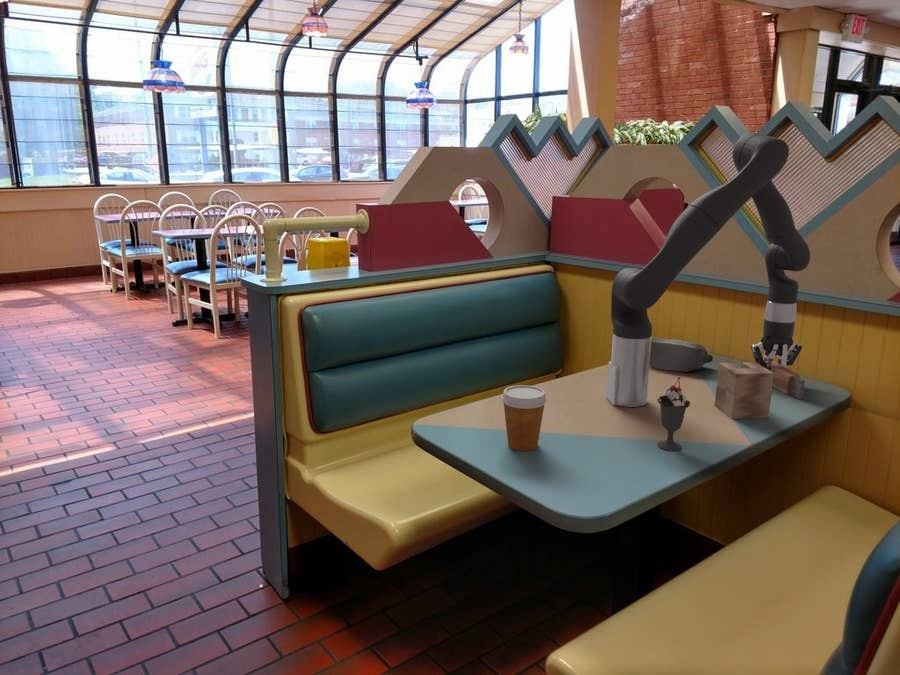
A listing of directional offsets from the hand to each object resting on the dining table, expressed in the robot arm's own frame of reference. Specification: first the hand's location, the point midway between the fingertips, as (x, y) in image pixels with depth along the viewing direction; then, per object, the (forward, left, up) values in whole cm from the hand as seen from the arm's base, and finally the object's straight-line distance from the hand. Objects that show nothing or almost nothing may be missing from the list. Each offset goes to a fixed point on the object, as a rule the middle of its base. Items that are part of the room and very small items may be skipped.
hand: (772, 379), depth 192 cm
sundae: (-44, -40, -1) cm, 59 cm away
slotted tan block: (-19, -21, -1) cm, 28 cm away
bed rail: (0, -4, -1) cm, 4 cm away
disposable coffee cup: (-75, -37, -1) cm, 84 cm away
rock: (-21, +17, -1) cm, 27 cm away
